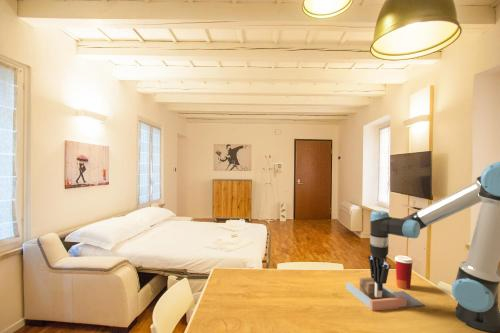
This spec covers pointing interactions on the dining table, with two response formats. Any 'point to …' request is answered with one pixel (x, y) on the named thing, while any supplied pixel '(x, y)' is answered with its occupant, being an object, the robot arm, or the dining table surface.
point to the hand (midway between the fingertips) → (378, 296)
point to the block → (368, 287)
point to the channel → (378, 304)
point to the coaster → (407, 299)
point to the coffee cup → (403, 271)
